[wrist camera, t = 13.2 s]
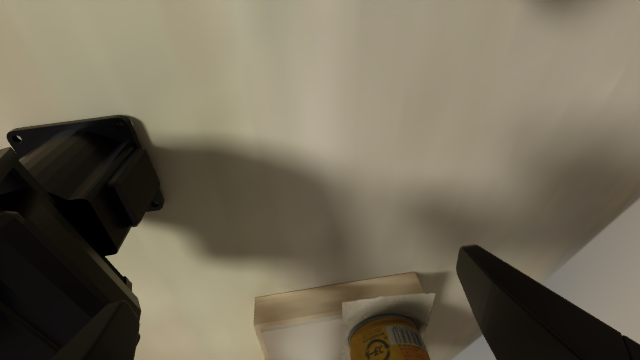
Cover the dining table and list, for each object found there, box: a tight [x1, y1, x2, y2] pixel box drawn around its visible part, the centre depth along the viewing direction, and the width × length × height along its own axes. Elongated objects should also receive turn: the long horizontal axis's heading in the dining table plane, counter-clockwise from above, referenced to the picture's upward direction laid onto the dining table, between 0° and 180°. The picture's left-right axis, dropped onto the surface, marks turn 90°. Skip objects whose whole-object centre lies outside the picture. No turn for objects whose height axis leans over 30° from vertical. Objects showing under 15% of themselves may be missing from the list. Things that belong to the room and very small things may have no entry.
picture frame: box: [254, 272, 425, 360], centre depth 31 cm, size 14×12×3 cm
